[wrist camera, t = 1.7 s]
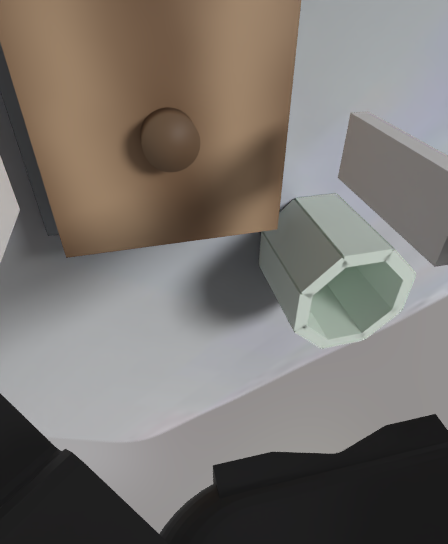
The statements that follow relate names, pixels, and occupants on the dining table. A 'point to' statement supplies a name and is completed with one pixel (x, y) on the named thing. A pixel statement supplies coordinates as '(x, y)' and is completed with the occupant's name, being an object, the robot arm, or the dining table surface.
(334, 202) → the octagonal pipe section
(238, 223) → the lid
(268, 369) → the dining table surface
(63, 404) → the dining table surface
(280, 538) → the robot arm
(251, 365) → the dining table surface
